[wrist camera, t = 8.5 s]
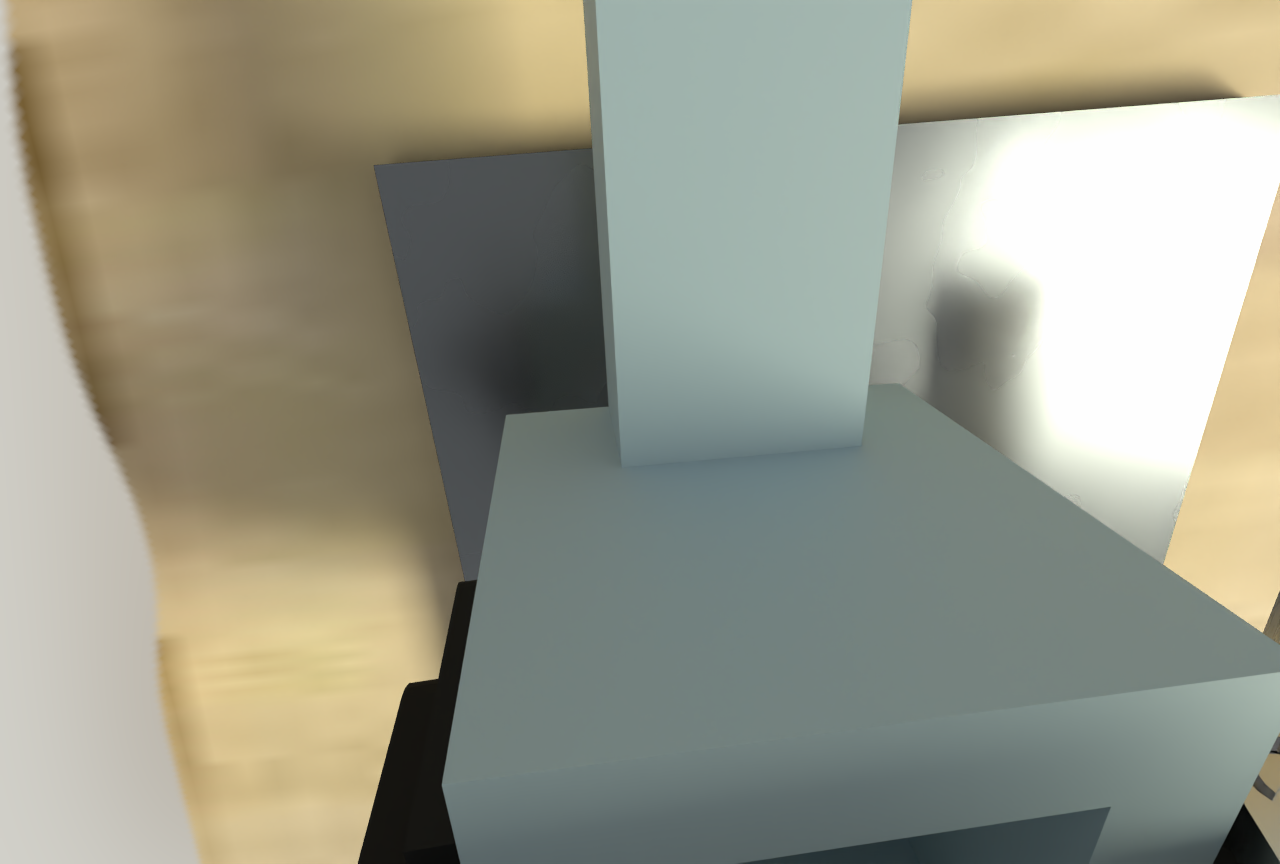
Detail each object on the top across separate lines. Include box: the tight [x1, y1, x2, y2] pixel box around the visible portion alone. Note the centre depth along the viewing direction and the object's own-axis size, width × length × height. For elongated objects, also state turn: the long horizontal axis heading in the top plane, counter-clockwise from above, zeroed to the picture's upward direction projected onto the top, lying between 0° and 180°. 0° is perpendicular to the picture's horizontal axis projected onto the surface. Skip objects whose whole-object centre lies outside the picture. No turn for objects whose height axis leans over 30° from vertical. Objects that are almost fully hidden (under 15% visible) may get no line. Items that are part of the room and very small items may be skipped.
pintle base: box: [374, 95, 1280, 645], centre depth 13 cm, size 14×18×7 cm
